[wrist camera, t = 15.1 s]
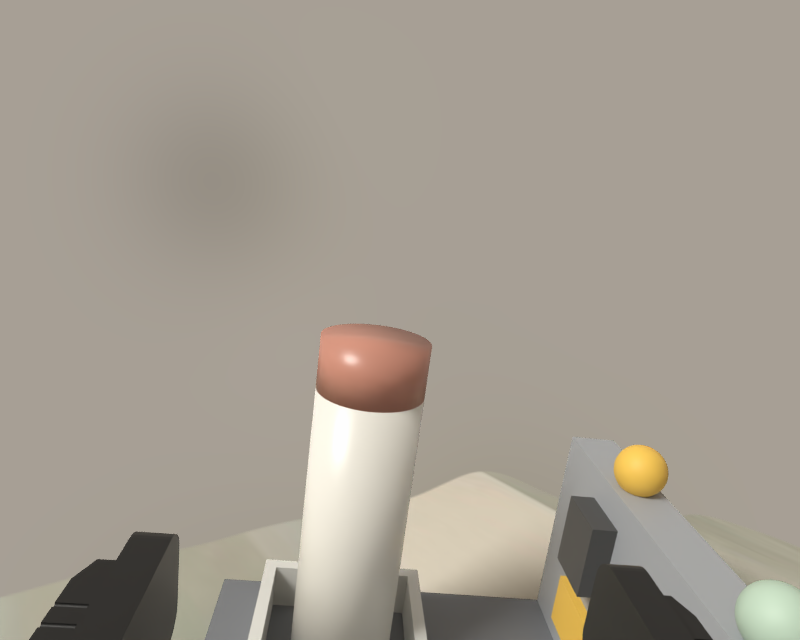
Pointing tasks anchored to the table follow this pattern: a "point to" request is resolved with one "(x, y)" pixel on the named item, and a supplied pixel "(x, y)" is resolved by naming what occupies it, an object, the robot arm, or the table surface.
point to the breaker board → (559, 570)
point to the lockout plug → (359, 480)
